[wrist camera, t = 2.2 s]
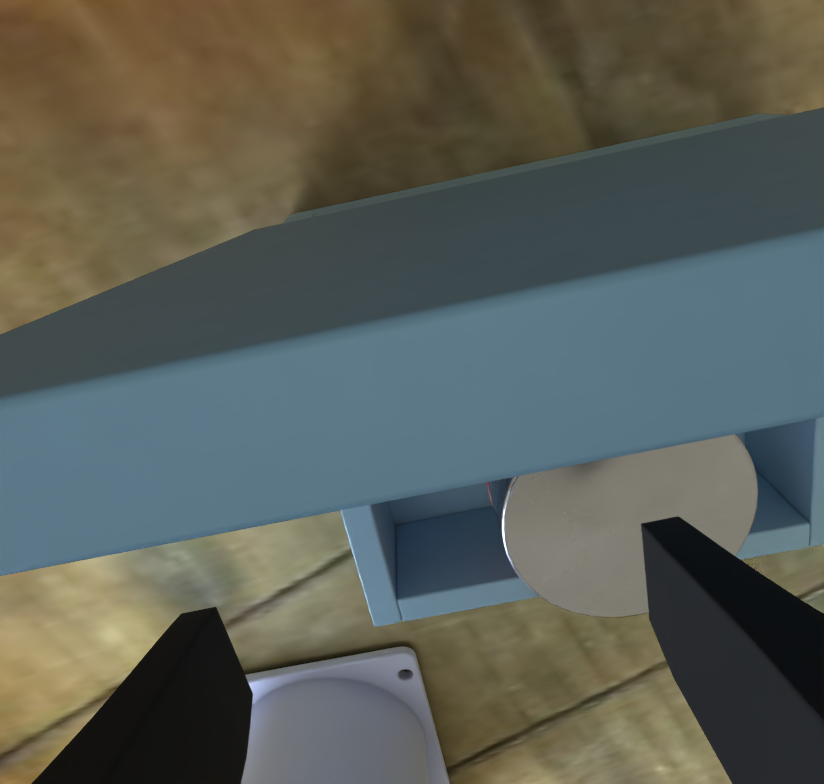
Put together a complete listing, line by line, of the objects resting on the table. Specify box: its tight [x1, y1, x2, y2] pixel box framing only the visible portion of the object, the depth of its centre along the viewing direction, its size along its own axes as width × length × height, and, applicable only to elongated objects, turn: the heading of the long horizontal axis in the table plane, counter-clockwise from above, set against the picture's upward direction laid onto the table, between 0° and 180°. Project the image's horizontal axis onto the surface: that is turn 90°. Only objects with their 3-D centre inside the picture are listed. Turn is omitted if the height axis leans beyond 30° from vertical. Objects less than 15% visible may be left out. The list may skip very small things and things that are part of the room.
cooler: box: [284, 114, 824, 627], centre depth 18 cm, size 11×13×4 cm
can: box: [486, 434, 758, 618], centre depth 16 cm, size 5×5×6 cm
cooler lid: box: [0, 108, 824, 576], centre depth 8 cm, size 11×13×1 cm
